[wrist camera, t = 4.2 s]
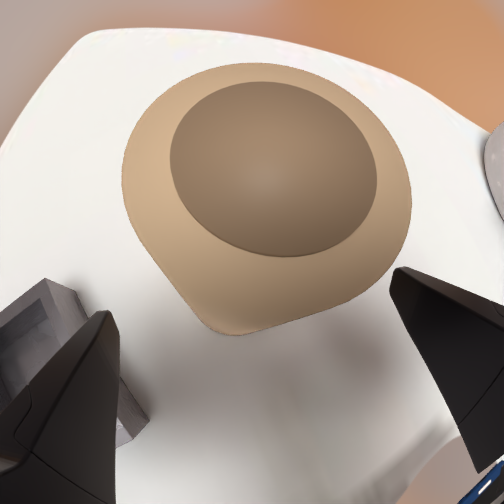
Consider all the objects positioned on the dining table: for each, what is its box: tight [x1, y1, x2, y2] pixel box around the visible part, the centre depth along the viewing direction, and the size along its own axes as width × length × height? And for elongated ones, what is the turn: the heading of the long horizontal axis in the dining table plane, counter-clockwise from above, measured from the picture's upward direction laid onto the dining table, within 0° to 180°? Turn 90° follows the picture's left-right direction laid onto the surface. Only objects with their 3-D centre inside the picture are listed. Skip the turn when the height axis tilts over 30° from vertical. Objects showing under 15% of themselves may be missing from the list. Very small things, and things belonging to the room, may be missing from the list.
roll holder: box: [0, 278, 149, 448], centre depth 13 cm, size 10×10×4 cm
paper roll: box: [122, 63, 412, 336], centre depth 12 cm, size 6×6×14 cm
